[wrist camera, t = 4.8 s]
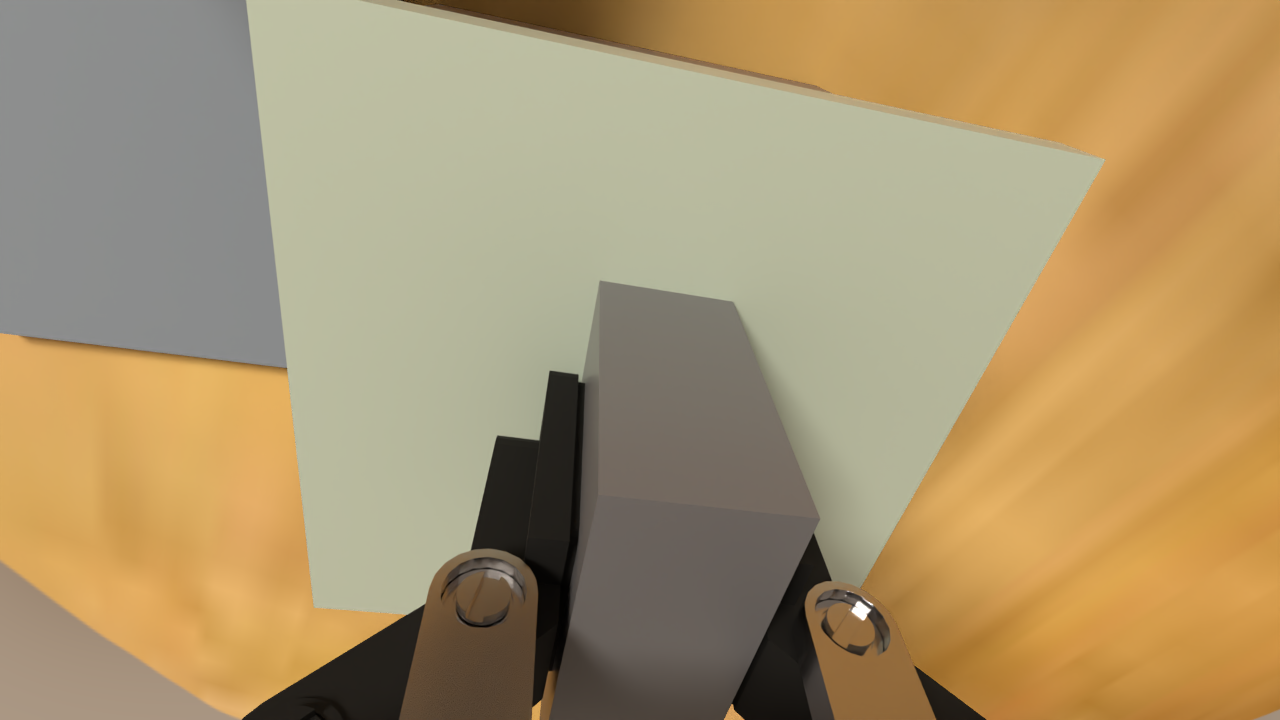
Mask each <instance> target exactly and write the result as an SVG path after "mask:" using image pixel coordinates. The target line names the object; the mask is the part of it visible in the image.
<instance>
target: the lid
mask: <svg viewBox="0 0 1280 720" xmlns="http://www.w3.org/2000/svg"><path fill="white" fill-rule="evenodd" d="M246 4H247V13H248V22H249V31H250V40H251V49H252V58H253V66H254V75H255V84H256V93H257V102H258V111H259V120H260V129H261V138H262V147H263V156H264V165H265V174H266V183H267V192H268V201H269V210H270V219H271V228H272V237H273V246H274V254H275V263H276V272H277V281H278V290H279V299H280V308H281V317H282V326H283V335H284V344H285V353H286V362H287V371H288V380H289V389H290V398H291V407H292V416H293V425H294V434H295V443H296V451H297V460H298V469H299V478H300V487H301V496H302V505H303V514H304V523H305V532H306V541H307V550H308V559H309V568H310V577H311V586H312V595H313V604H314V608H327V609H340V610H353V611H367V612H380V613H393V614H406V615H408V614H409V613H411V612H413V611H414V610H416V609H417V608H419V607H421V606H422V605H424V604H426V600H427V595H428V591H429V587H430V585H431V582H432V580H433V578H434V575H435V574H436V573H437V571H438V570H439V569H440V568H441V567H442V566H443V565H444V564H445V563H446V562H447V561H449V560H451V559H452V558H454V557H455V556H457V555H459V554H462V553H465V552H468V551H471V546H472V542H473V538H474V533H475V529H476V524H477V520H478V516H479V511H480V507H481V502H482V498H483V494H484V489H485V485H486V480H487V476H488V472H489V467H490V463H491V458H492V454H493V449H494V445H495V441H496V437H497V435H499V436H507V437H516V438H524V439H532V440H539V438H540V431H541V425H542V418H543V411H544V404H545V397H546V391H547V384H548V377H549V371H558V372H565V373H572V374H578V375H579V380H578V382H581V383H585V400H584V425H583V450H582V475H581V500H580V525H579V537H578V546H577V552H576V558H575V563H574V567H573V572H572V577H571V582H570V587H569V591H568V596H567V601H566V606H565V610H564V615H563V620H562V625H561V630H560V634H559V639H558V644H557V649H556V654H555V658H554V663H553V668H552V671H548V675H547V680H546V685H545V690H544V695H543V699H542V700H541V710H540V720H724V718H725V716H726V714H727V712H728V710H729V708H730V706H731V703H732V701H733V699H734V697H735V695H736V693H737V691H738V689H739V687H740V685H741V683H742V681H743V679H744V676H745V674H746V672H747V670H748V668H749V666H750V664H751V662H752V660H753V658H754V656H755V654H756V652H757V649H758V647H759V645H760V643H761V641H762V639H763V637H764V635H765V633H766V631H767V629H768V627H769V624H770V622H771V620H772V618H773V616H774V614H775V612H776V610H777V608H778V606H779V604H780V602H781V600H782V597H783V595H784V593H785V591H786V589H787V587H788V585H789V583H790V581H791V579H792V577H793V575H794V573H795V570H796V568H797V566H798V564H799V562H800V560H801V558H802V556H803V554H804V552H805V550H806V548H807V545H808V543H809V541H810V539H811V537H812V535H813V533H814V534H815V537H816V540H817V542H818V545H819V548H820V550H821V553H822V555H823V558H824V561H825V563H826V566H827V569H828V571H829V574H830V576H831V579H832V581H839V582H843V583H847V584H851V585H854V586H856V587H858V588H861V586H862V584H863V583H864V581H865V579H866V577H867V576H868V574H869V572H870V570H871V569H872V567H873V565H874V563H875V562H876V560H877V558H878V556H879V555H880V553H881V551H882V549H883V548H884V546H885V544H886V542H887V541H888V539H889V537H890V535H891V534H892V532H893V530H894V528H895V527H896V525H897V523H898V521H899V520H900V518H901V516H902V514H903V513H904V511H905V509H906V507H907V506H908V504H909V502H910V500H911V499H912V497H913V495H914V493H915V492H916V490H917V488H918V487H919V485H920V483H921V481H922V480H923V478H924V476H925V474H926V473H927V471H928V469H929V467H930V466H931V464H932V462H933V460H934V459H935V457H936V455H937V453H938V452H939V450H940V448H941V446H942V445H943V443H944V441H945V439H946V438H947V436H948V434H949V432H950V431H951V429H952V427H953V425H954V424H955V422H956V420H957V418H958V417H959V415H960V413H961V411H962V410H963V408H964V406H965V404H966V403H967V401H968V399H969V397H970V396H971V394H972V392H973V390H974V389H975V387H976V385H977V383H978V382H979V380H980V378H981V376H982V375H983V373H984V371H985V369H986V368H987V366H988V364H989V362H990V361H991V359H992V357H993V355H994V354H995V352H996V350H997V349H998V347H999V345H1000V343H1001V342H1002V340H1003V338H1004V336H1005V335H1006V333H1007V331H1008V329H1009V328H1010V326H1011V324H1012V322H1013V321H1014V319H1015V317H1016V315H1017V314H1018V312H1019V310H1020V308H1021V307H1022V305H1023V303H1024V301H1025V300H1026V298H1027V296H1028V294H1029V293H1030V291H1031V289H1032V287H1033V286H1034V284H1035V282H1036V280H1037V279H1038V277H1039V275H1040V273H1041V272H1042V270H1043V268H1044V266H1045V265H1046V263H1047V261H1048V259H1049V258H1050V256H1051V254H1052V252H1053V251H1054V249H1055V247H1056V245H1057V244H1058V242H1059V240H1060V238H1061V237H1062V235H1063V233H1064V231H1065V230H1066V228H1067V226H1068V224H1069V223H1070V221H1071V219H1072V218H1073V216H1074V214H1075V212H1076V211H1077V209H1078V207H1079V205H1080V204H1081V202H1082V200H1083V198H1084V197H1085V195H1086V193H1087V191H1088V190H1089V188H1090V186H1091V184H1092V183H1093V181H1094V179H1095V177H1096V176H1097V174H1098V172H1099V170H1100V169H1101V167H1102V165H1103V163H1104V162H1105V159H1102V158H1100V157H1097V156H1094V155H1092V154H1089V153H1086V152H1083V151H1081V150H1078V149H1075V148H1073V147H1070V146H1067V145H1064V144H1062V143H1059V142H1054V141H1049V140H1045V139H1040V138H1036V137H1031V136H1026V135H1022V134H1017V133H1012V132H1008V131H1003V130H998V129H994V128H989V127H984V126H980V125H975V124H970V123H966V122H961V121H957V120H952V119H947V118H943V117H938V116H933V115H929V114H924V113H919V112H915V111H910V110H905V109H901V108H896V107H891V106H887V105H882V104H877V103H873V102H868V101H864V100H859V99H854V98H850V97H845V96H840V95H836V94H831V93H826V92H822V91H817V90H812V89H808V88H803V87H798V86H794V85H789V84H785V83H780V82H775V81H771V80H766V79H761V78H757V77H752V76H747V75H743V74H738V73H733V72H729V71H724V70H719V69H715V68H710V67H706V66H701V65H696V64H692V63H687V62H682V61H678V60H673V59H668V58H664V57H659V56H654V55H650V54H645V53H640V52H636V51H631V50H627V49H622V48H617V47H613V46H608V45H603V44H599V43H594V42H589V41H585V40H580V39H575V38H571V37H566V36H561V35H557V34H552V33H548V32H543V31H538V30H534V29H529V28H524V27H520V26H515V25H510V24H506V23H501V22H496V21H492V20H487V19H482V18H478V17H473V16H469V15H464V14H459V13H455V12H450V11H445V10H441V9H436V8H431V7H427V6H422V5H417V4H413V3H408V2H403V1H399V0H246Z"/></svg>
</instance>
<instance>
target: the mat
mask: <svg viewBox="0 0 1280 720" xmlns="http://www.w3.org/2000/svg"><path fill="white" fill-rule="evenodd" d="M399 1H402V0H399ZM0 333H4V334H12V335H20V336H29V337H37V338H45V339H53V340H61V341H70V342H78V343H86V344H94V345H102V346H111V347H119V348H127V349H135V350H144V351H152V352H160V353H168V354H176V355H185V356H193V357H201V358H209V359H217V360H226V361H234V362H242V363H250V364H258V365H267V366H275V367H283V368H287V362H286V353H285V344H284V335H283V326H282V317H281V308H280V299H279V290H278V281H277V272H276V263H275V254H274V246H273V237H272V228H271V219H270V210H269V201H268V192H267V183H266V174H265V165H264V156H263V147H262V138H261V129H260V120H259V111H258V102H257V93H256V84H255V75H254V66H253V58H252V49H251V40H250V31H249V22H248V13H247V4H246V0H0Z"/></svg>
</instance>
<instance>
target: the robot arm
mask: <svg viewBox="0 0 1280 720" xmlns="http://www.w3.org/2000/svg"><path fill="white" fill-rule="evenodd" d="M578 380H579V375H578V374H572V373H565V372H558V371H549V377H548V384H547V391H546V397H545V404H544V411H543V418H542V425H541V431H540V438H539V440H532V439H524V438H516V437H507V436H499V435H497V437H496V441H495V445H494V449H493V454H492V458H491V463H490V467H489V472H488V476H487V480H486V485H485V489H484V494H483V498H482V502H481V507H480V511H479V516H478V520H477V524H476V529H475V533H474V538H473V542H472V546H471V551H468V552H465V553H462V554H459V555H457V556H455V557H454V558H452V559H451V560H449V561H447V562H446V563H445V564H444V565H443V566H442V567H441V568H440V569H439V570H438V571H437V573H436V574H435V575H434V578H433V580H432V582H431V585H430V587H429V591H428V595H427V600H426V604H424V605H422V606H421V607H419V608H417V609H416V610H414V611H413V612H411V613H409V614H408V615H406V616H404V617H403V618H401V619H399V620H398V621H396V622H394V623H393V624H391V625H390V626H388V627H386V628H385V629H383V630H381V631H380V632H378V633H376V634H375V635H373V636H372V637H370V638H368V639H367V640H365V641H363V642H362V643H360V644H358V645H357V646H355V647H354V648H352V649H350V650H349V651H347V652H345V653H344V654H342V655H340V656H339V657H337V658H335V659H334V660H332V661H331V662H329V663H327V664H326V665H324V666H322V667H321V668H319V669H317V670H316V671H314V672H313V673H311V674H309V675H308V676H306V677H304V678H303V679H301V680H299V681H298V682H296V683H295V684H293V685H291V686H290V687H288V688H286V689H285V690H283V691H281V692H280V693H278V694H276V695H275V696H273V697H272V698H270V699H268V700H267V701H265V702H263V703H262V704H261V705H259V706H258V707H257V708H256V709H254V710H253V711H252V712H250V713H249V714H248V715H246V716H245V717H244V718H243V719H242V720H532V707H533V706H535V705H536V704H537V703H538V702H539V701H540V700H542V699H543V695H544V690H545V685H546V680H547V675H548V671H552V668H553V663H554V658H555V654H556V649H557V644H558V639H559V634H560V630H561V625H562V620H563V615H564V610H565V606H566V601H567V596H568V591H569V587H570V582H571V577H572V572H573V567H574V563H575V558H576V552H577V546H578V537H579V525H580V500H581V475H582V450H583V425H584V400H585V383H581V382H578ZM731 704H733V705H734V710H735V711H736V712H737V713H738V714H739V715H740V716H741V717H742V718H744V719H745V720H986V719H985V718H983V717H982V716H981V715H979V714H978V713H977V712H975V711H974V710H973V709H971V708H970V707H969V706H967V705H966V704H965V703H964V702H962V701H961V700H960V699H958V698H957V697H956V696H954V695H953V694H952V693H950V692H949V691H948V690H946V689H945V688H944V687H942V686H941V685H940V684H938V683H937V682H936V681H934V680H933V679H932V678H930V677H929V676H928V675H926V674H925V673H924V672H922V671H921V670H920V669H918V668H917V667H916V666H914V665H913V662H912V660H911V657H910V655H909V653H908V650H907V648H906V645H905V643H904V640H903V638H902V636H901V633H900V631H899V628H898V626H897V624H896V623H895V621H894V619H893V617H892V616H891V614H890V613H889V612H888V610H887V609H886V608H885V607H884V606H883V605H882V604H881V603H880V602H879V601H878V600H877V599H875V598H874V597H873V596H871V595H870V594H869V593H867V592H866V591H864V590H862V589H860V588H858V587H856V586H854V585H851V584H847V583H843V582H839V581H832V579H831V576H830V574H829V571H828V569H827V566H826V563H825V561H824V558H823V555H822V553H821V550H820V548H819V545H818V542H817V540H816V537H815V534H814V533H813V535H812V537H811V539H810V541H809V543H808V545H807V548H806V550H805V552H804V554H803V556H802V558H801V560H800V562H799V564H798V566H797V568H796V570H795V573H794V575H793V577H792V579H791V581H790V583H789V585H788V587H787V589H786V591H785V593H784V595H783V597H782V600H781V602H780V604H779V606H778V608H777V610H776V612H775V614H774V616H773V618H772V620H771V622H770V624H769V627H768V629H767V631H766V633H765V635H764V637H763V639H762V641H761V643H760V645H759V647H758V649H757V652H756V654H755V656H754V658H753V660H752V662H751V664H750V666H749V668H748V670H747V672H746V674H745V676H744V679H743V681H742V683H741V685H740V687H739V689H738V691H737V693H736V695H735V697H734V699H733V701H732V703H731Z"/></svg>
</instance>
